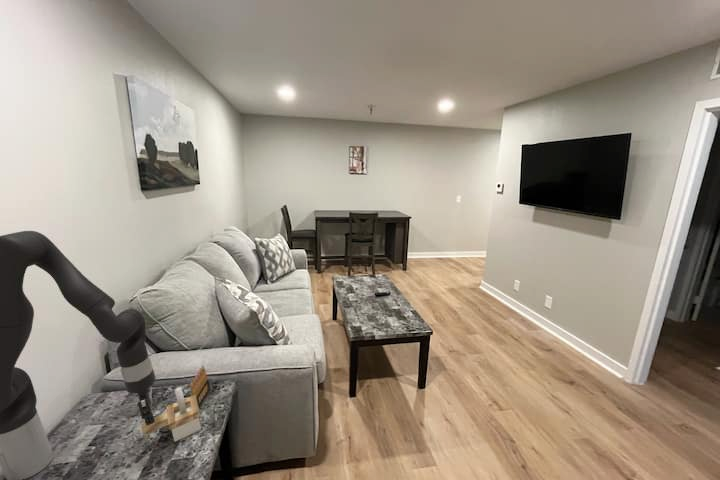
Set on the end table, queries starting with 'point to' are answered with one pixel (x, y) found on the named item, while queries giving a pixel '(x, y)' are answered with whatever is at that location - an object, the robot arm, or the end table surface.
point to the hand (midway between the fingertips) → (150, 414)
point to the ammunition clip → (200, 386)
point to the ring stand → (188, 427)
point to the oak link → (170, 417)
